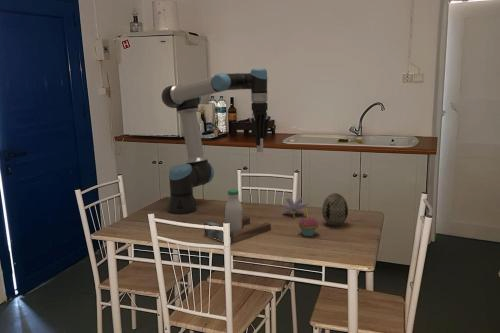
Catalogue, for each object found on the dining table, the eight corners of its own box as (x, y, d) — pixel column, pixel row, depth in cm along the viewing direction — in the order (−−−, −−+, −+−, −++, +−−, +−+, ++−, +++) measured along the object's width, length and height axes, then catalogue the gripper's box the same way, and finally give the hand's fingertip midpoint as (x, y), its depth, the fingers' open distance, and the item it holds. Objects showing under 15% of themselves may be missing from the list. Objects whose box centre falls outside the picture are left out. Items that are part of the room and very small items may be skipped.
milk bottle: (240, 237, 193) (239, 192, 189) (223, 236, 195) (221, 192, 191) (244, 231, 200) (243, 188, 196) (228, 230, 202) (226, 187, 198)
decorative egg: (317, 225, 207) (317, 194, 204) (330, 219, 215) (331, 189, 212) (339, 231, 199) (340, 198, 196) (352, 224, 208) (353, 193, 205)
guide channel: (204, 235, 196) (204, 222, 195) (246, 222, 213) (246, 210, 212) (229, 244, 185) (228, 230, 184) (270, 229, 202) (270, 217, 201)
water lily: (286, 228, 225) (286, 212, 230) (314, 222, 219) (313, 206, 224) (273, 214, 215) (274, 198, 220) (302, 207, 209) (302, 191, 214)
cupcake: (295, 232, 198) (295, 206, 196) (312, 230, 201) (312, 204, 199) (304, 239, 190) (304, 211, 188) (322, 236, 193) (322, 209, 191)
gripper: (255, 103, 203) (256, 154, 208) (274, 101, 212) (275, 150, 217) (243, 102, 209) (244, 152, 213) (263, 101, 218) (264, 149, 222)
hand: (260, 151), depth 215 cm, fingers closed
